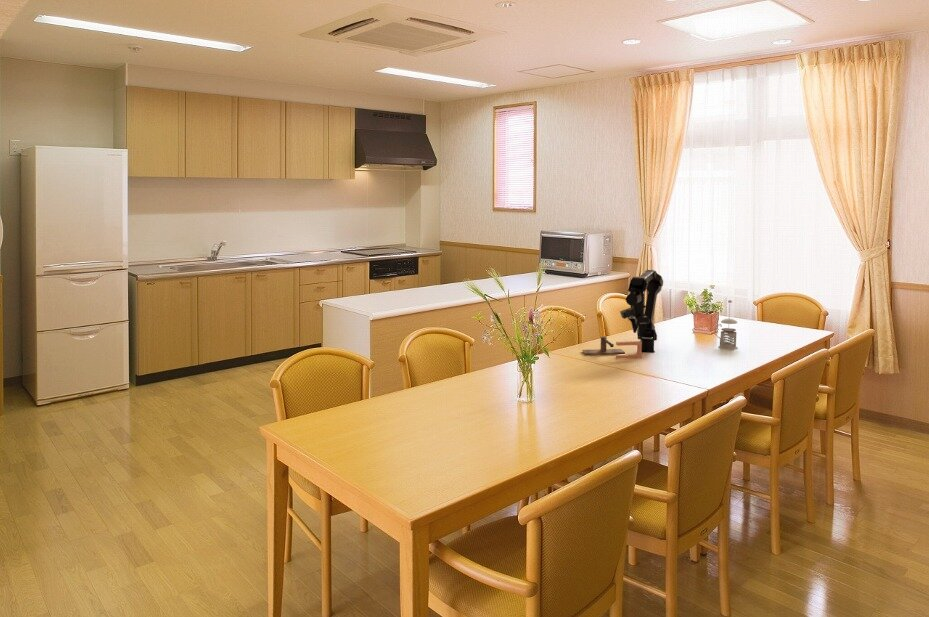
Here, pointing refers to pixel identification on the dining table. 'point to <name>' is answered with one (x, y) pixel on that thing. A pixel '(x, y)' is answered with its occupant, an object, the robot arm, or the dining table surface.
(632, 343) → the c link
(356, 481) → the dining table surface
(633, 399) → the dining table surface
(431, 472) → the dining table surface
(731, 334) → the french press
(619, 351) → the stand
